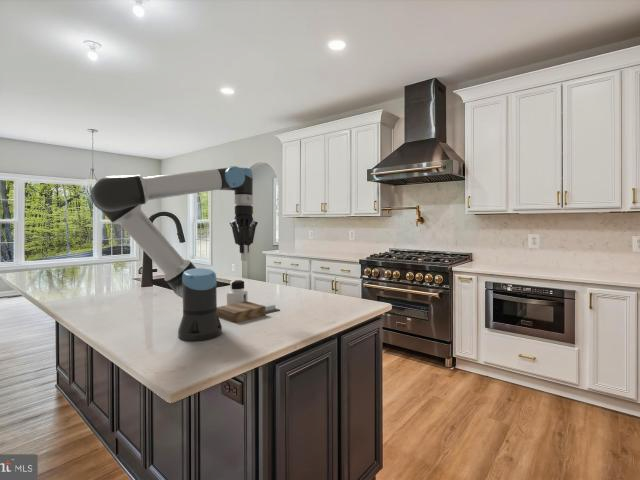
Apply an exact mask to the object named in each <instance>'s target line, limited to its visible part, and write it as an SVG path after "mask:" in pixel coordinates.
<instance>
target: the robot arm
mask: <svg viewBox="0 0 640 480" xmlns="http://www.w3.org/2000/svg"><path fill="white" fill-rule="evenodd" d="M253 180H254V177H253V170H252V169H251V168H248V167H239V166H236V165H235V166H229V167H224V168H217V169H216V168H213V169H207V170H204V169H203V170H198V171H188V172H180V173H172V174H163V175H153V176H147V177H143V176H141V175H140V174H135V175H134V174H133V175H109V176H108V175H107V176H104V177H102V178H100V179H98V180H97V181H96V183H95V184H94V185H93V187H92V189H91V190H90V191H91V192H90V193H91V194H90V197H91V200H92V204H93V205H94V207H96V208H97V209H98V210H99V211H101V212H102V213H103V215H104V216H105V217H107V219H108V220H109V221H110V222H111V223H112V224H118V225H120V226H121V227H122V228H123V229H124V231H126V233H127V234H128V235H129V236H130V237H131V238H132V239H133V240H134V241H135V243H136V244H137V245H138V246H139V247H140V249H142V250H143V252H144V253H145V254H146V255H147V256H148V257H149V258H150V259H151V261H153V263H154V264H155V265H156V266H157V267H158V268H159V270H161V271H162V273H163V274H164V279H163V280H164V281H165V282H166V283H167V284H168V285H169V287H170V288H171V289H172V291H173V293H175V295H176V296H178V297H179V298H181V299H182V317H181V321H180V323H179V326H178V330H177V332H178V333H177V337H178V338H179V339H180V340H182V341H187V342H188V341H190V342H198V341H207V340H212V339H215V338H218V337H219V336H220V335H222V334H223V327H222V323H221V320H220V318H219V317H218V314H217V307H218V305H217V304H218V303H217V301H218V300H217V297H218V295H217V291H218V290H217V282H218V280H217V274H216V273H215V271H214V270H212V269H209V268H199V267H198V268H197V267H196V266H195V265H194V263H193V262H191V260H189V259H184V257H183V256H181V255H180V253H178V251H177V250H176V249H175V247H173V246H172V244H171V243H170V241H168V240H167V238H166V236H164V235H163V234H162V232H161V231H160V230H159V229H158V228H157V226H155V224H154V223H153V222H152V221H151V220H150V219H149V217H148V216H147V214H145V213H144V211H143V210H142V205H146V204H147V202H148V201H151V200H152V201H153V200H159V199H166V198H172V197H173V198H174V197H179V196H185V195H192V194H200V193H207V192H211V191H213V192H214V191H234V215H235V216H234V219H233V220H231V221H229V225H230V227H231V230H232V234H233V239H234V243H235V245H238V247H239V253H240V262H241V261H242V262H248V261H249V259H248V257H249V255H248V254H249V252H250V246H251V244H254V239H255V234H256V230H257V229H256V228H257V226H258V221H255V219H254V218H253V217H254V216H253V214H254V206H253V204H254V201H253V199H254V197H253V196H254V195H253Z"/></svg>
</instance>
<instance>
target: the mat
mask: <svg viewBox="0 0 640 480" xmlns="http://www.w3.org/2000/svg"><path fill="white" fill-rule="evenodd" d="M278 311H279V312H280V311H281V309H279V308H277V307H275V309H274V310H269V311H266V314H271V313H274V312H278Z"/></svg>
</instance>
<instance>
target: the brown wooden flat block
mask: <svg viewBox="0 0 640 480" xmlns="http://www.w3.org/2000/svg"><path fill="white" fill-rule="evenodd" d="M217 314H218V317H219V319H222V320H225V321H228V322H230V323H234V324H235V323H239V322H244V321H246V320H252V319H256V318H259V317H264V316H266V311H265V306H263V305H259V304H258V303H255V302H252V301H251V302H250V301H248V302H247V301H246V302H241V303H236V304H230V305H227V304H226V305H221V306H217Z"/></svg>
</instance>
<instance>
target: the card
mask: <svg viewBox="0 0 640 480" xmlns="http://www.w3.org/2000/svg"><path fill="white" fill-rule="evenodd" d="M259 305H263V306H265V311H269V310H274V309H275V308H276V304H275V303H274V304H273V303H269V302H265V303H260V304H259Z"/></svg>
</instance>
